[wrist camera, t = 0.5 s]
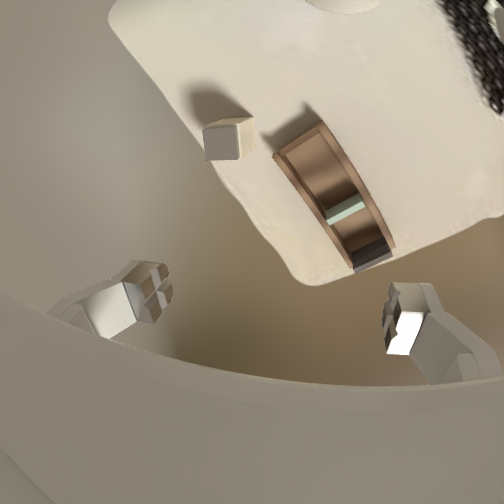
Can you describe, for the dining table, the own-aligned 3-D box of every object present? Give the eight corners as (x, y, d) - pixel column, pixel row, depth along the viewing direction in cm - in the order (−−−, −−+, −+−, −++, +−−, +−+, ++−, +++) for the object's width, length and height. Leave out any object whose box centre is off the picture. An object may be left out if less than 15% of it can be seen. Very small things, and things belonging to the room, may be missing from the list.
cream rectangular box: (223, 118, 40) (199, 127, 32) (253, 116, 39) (236, 124, 31) (226, 147, 43) (204, 162, 35) (255, 146, 41) (239, 161, 34)
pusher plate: (326, 210, 43) (326, 220, 40) (359, 192, 40) (362, 201, 37) (329, 215, 44) (329, 225, 41) (362, 197, 40) (365, 206, 37)
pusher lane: (276, 150, 41) (268, 160, 36) (322, 120, 36) (322, 125, 32) (348, 255, 48) (350, 275, 44) (391, 234, 44) (398, 253, 39)
